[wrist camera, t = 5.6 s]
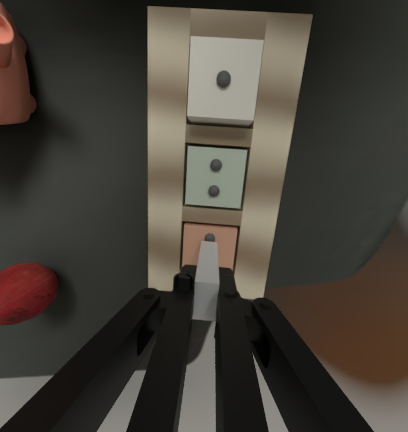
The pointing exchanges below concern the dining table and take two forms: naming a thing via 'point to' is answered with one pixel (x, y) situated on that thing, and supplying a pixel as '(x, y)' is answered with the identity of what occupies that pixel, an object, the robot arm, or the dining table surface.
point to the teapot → (13, 74)
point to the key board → (219, 136)
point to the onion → (25, 291)
